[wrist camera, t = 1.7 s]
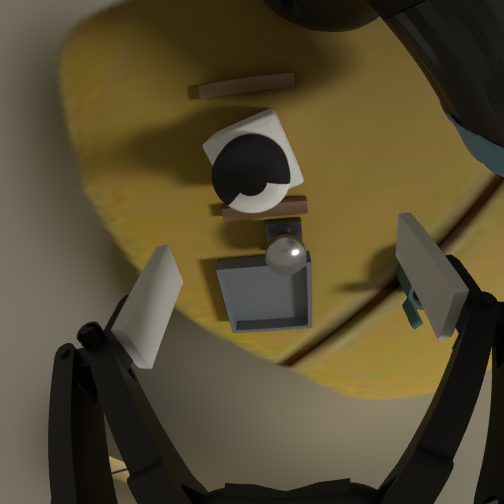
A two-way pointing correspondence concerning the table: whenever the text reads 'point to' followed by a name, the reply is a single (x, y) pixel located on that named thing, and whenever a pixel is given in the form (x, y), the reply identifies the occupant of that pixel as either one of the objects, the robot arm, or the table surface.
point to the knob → (285, 246)
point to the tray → (265, 295)
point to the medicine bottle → (252, 163)
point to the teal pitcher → (410, 299)
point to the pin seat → (247, 85)
